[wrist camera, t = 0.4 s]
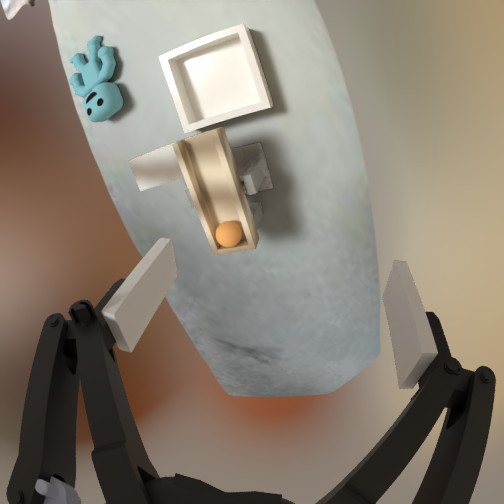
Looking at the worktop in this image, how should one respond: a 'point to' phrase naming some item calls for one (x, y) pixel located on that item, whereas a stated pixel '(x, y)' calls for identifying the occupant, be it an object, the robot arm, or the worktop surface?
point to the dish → (216, 78)
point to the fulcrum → (250, 175)
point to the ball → (228, 234)
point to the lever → (203, 183)
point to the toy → (96, 81)
